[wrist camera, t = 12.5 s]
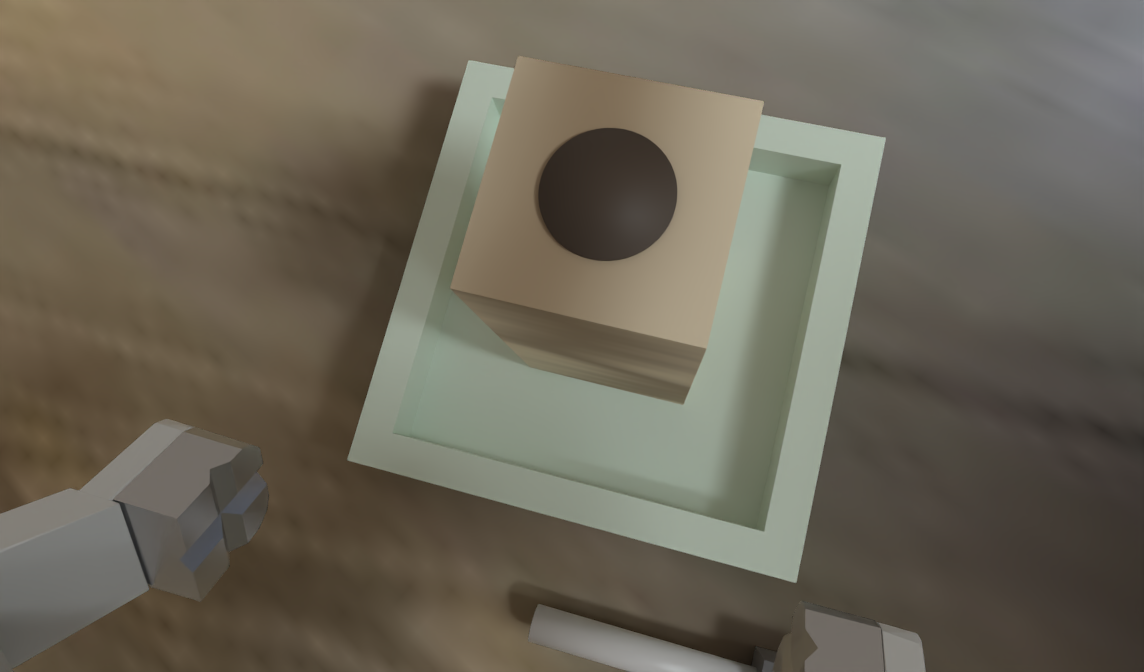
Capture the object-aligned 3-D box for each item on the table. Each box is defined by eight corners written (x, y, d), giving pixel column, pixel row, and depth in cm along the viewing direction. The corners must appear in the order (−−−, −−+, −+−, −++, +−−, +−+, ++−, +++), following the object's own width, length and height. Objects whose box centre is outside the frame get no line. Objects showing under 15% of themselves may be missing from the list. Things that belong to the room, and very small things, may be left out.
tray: (860, 174, 23) (885, 138, 21) (779, 571, 21) (795, 583, 19) (486, 102, 25) (468, 59, 22) (379, 463, 23) (347, 460, 20)
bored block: (718, 254, 22) (765, 98, 13) (683, 404, 21) (707, 347, 12) (565, 221, 23) (511, 51, 14) (526, 366, 22) (442, 285, 13)
